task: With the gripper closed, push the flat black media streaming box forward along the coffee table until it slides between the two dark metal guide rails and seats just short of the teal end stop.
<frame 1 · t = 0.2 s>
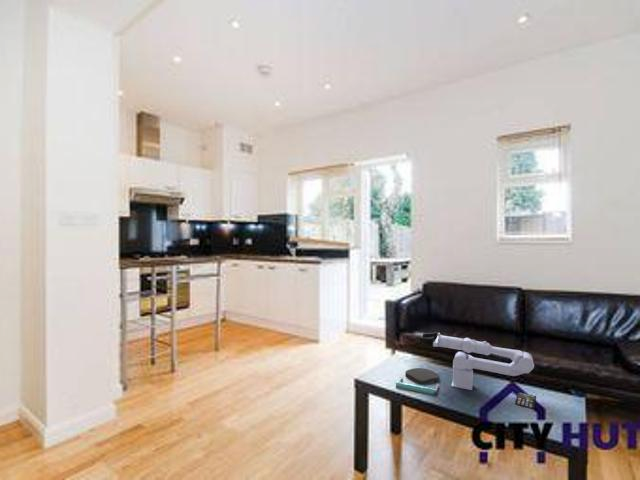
hand: (421, 337, 183), 21 cm above the table, tool horizontal, fingers open, 7 cm apart
rail bracket: (418, 385, 173), on the table
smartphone: (525, 401, 158), on the table
media streaming box: (422, 378, 183), on the table
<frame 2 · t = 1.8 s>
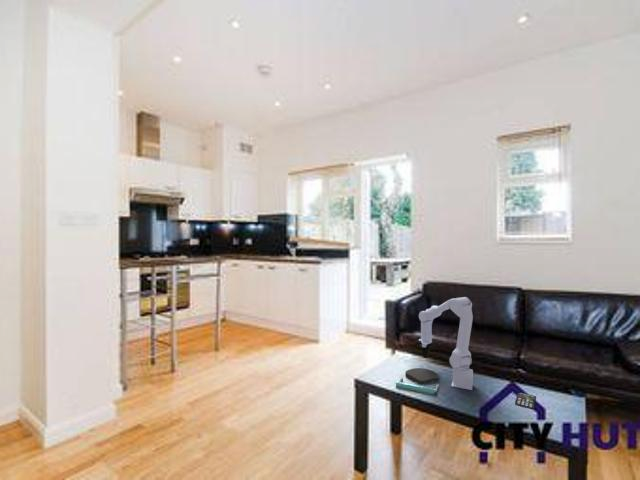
hand: (426, 356, 194), 7 cm above the table, tool pointing down, fingers open, 5 cm apart
nothing on the table moved.
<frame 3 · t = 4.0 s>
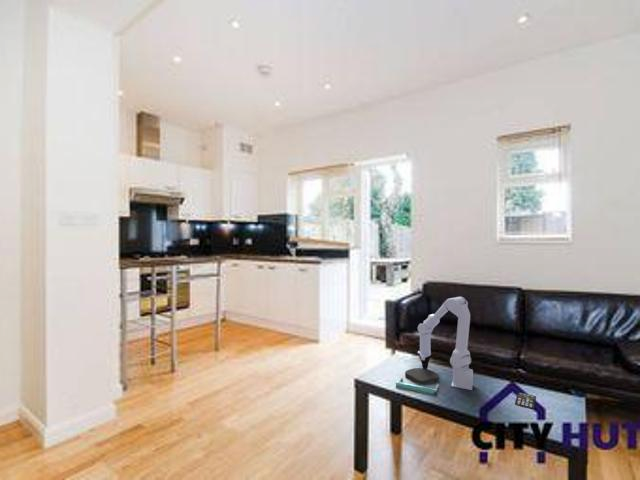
hand: (425, 369, 191), 1 cm above the table, tool pointing down, fingers closed
media streaming box: (421, 378, 183), on the table, touching gripper
everything else where it was.
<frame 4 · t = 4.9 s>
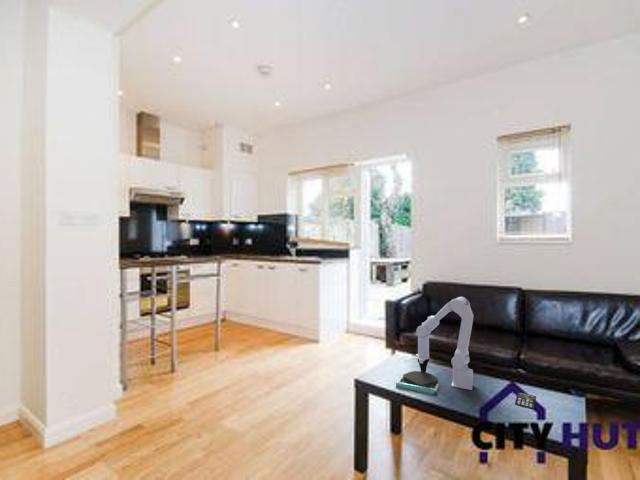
hand: (423, 372, 186), 1 cm above the table, tool pointing down, fingers closed
media streaming box: (420, 382, 178), on the table, touching gripper
everything else where it was.
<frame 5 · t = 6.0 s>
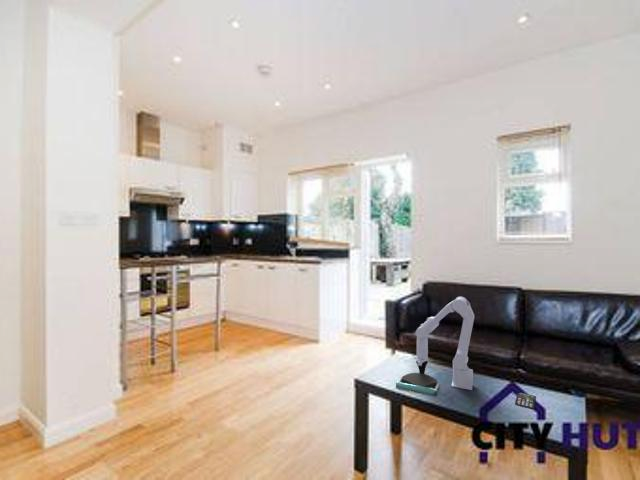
hand: (422, 374, 183), 1 cm above the table, tool pointing down, fingers closed, pressing on media streaming box
media streaming box: (419, 384, 176), on the table, touching gripper, rail bracket
everything else where it was.
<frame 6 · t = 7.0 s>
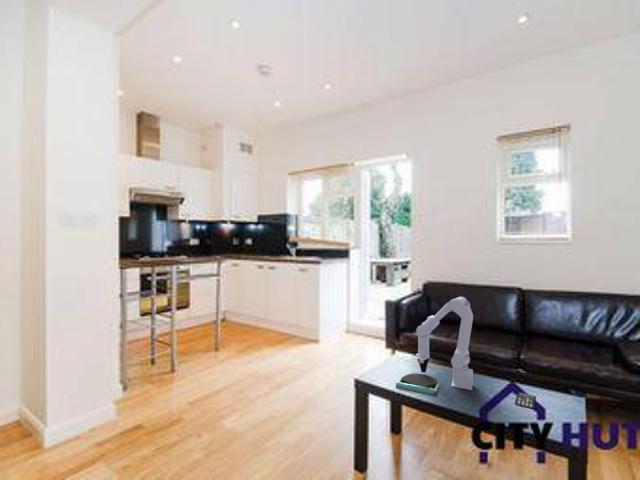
hand: (423, 372, 187), 1 cm above the table, tool pointing down, fingers closed
media streaming box: (419, 384, 176), on the table
everything else where it was.
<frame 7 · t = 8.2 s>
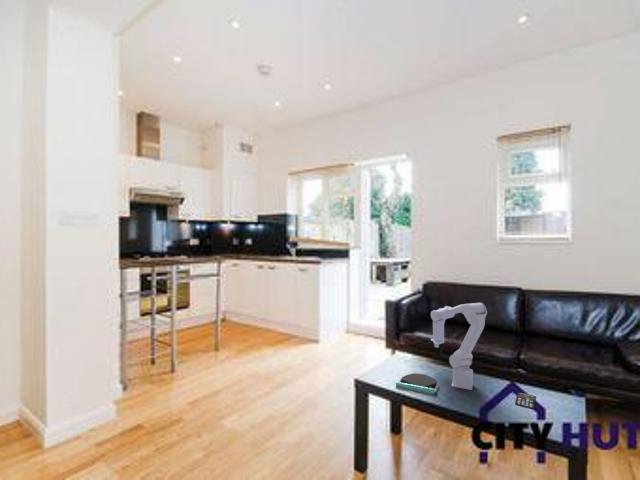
hand: (438, 356, 188), 9 cm above the table, tool pointing down, fingers closed
nothing on the table moved.
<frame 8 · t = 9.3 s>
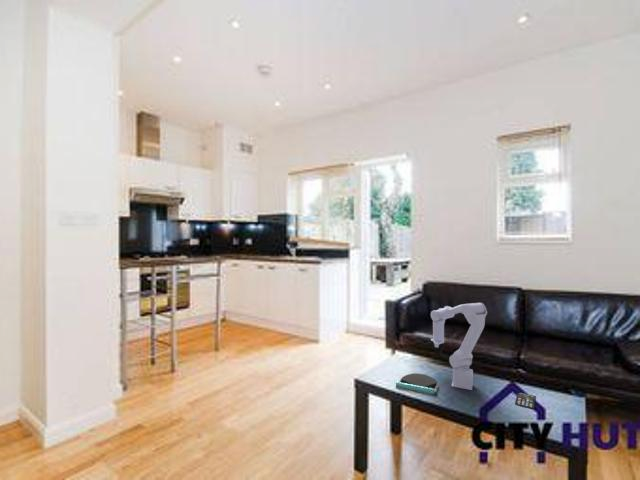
hand: (438, 356, 188), 9 cm above the table, tool pointing down, fingers closed
nothing on the table moved.
at the end: media streaming box 0.4 cm from the target spot, on the table; media streaming box tilted 0°; media streaming box moved 8.5 cm from its start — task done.
